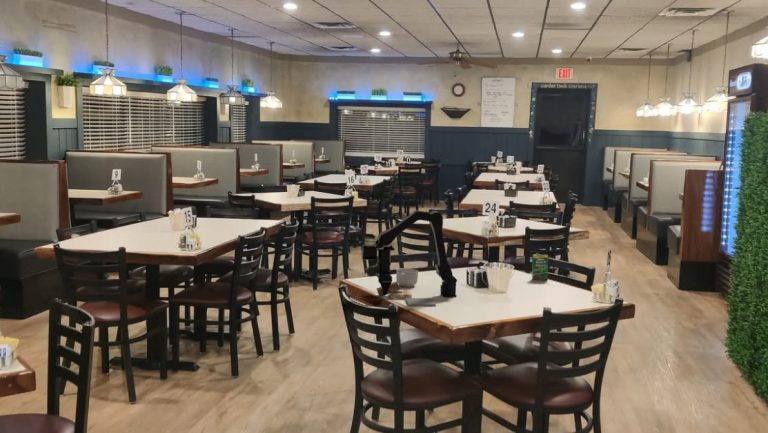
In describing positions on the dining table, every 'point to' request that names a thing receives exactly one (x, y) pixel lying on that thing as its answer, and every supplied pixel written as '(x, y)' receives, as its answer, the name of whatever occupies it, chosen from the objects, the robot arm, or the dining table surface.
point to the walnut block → (392, 288)
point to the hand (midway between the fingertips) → (383, 293)
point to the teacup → (406, 277)
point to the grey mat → (420, 302)
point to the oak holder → (401, 294)
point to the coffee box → (540, 267)
